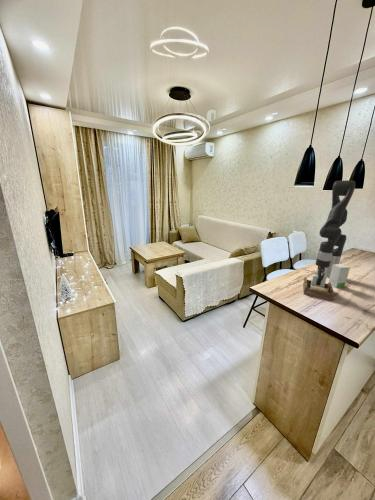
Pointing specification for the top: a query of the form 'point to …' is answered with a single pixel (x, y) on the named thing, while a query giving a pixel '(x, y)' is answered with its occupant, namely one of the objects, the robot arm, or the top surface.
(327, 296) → the rack
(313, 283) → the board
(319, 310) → the top surface
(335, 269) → the skincare box
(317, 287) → the offcut upper
